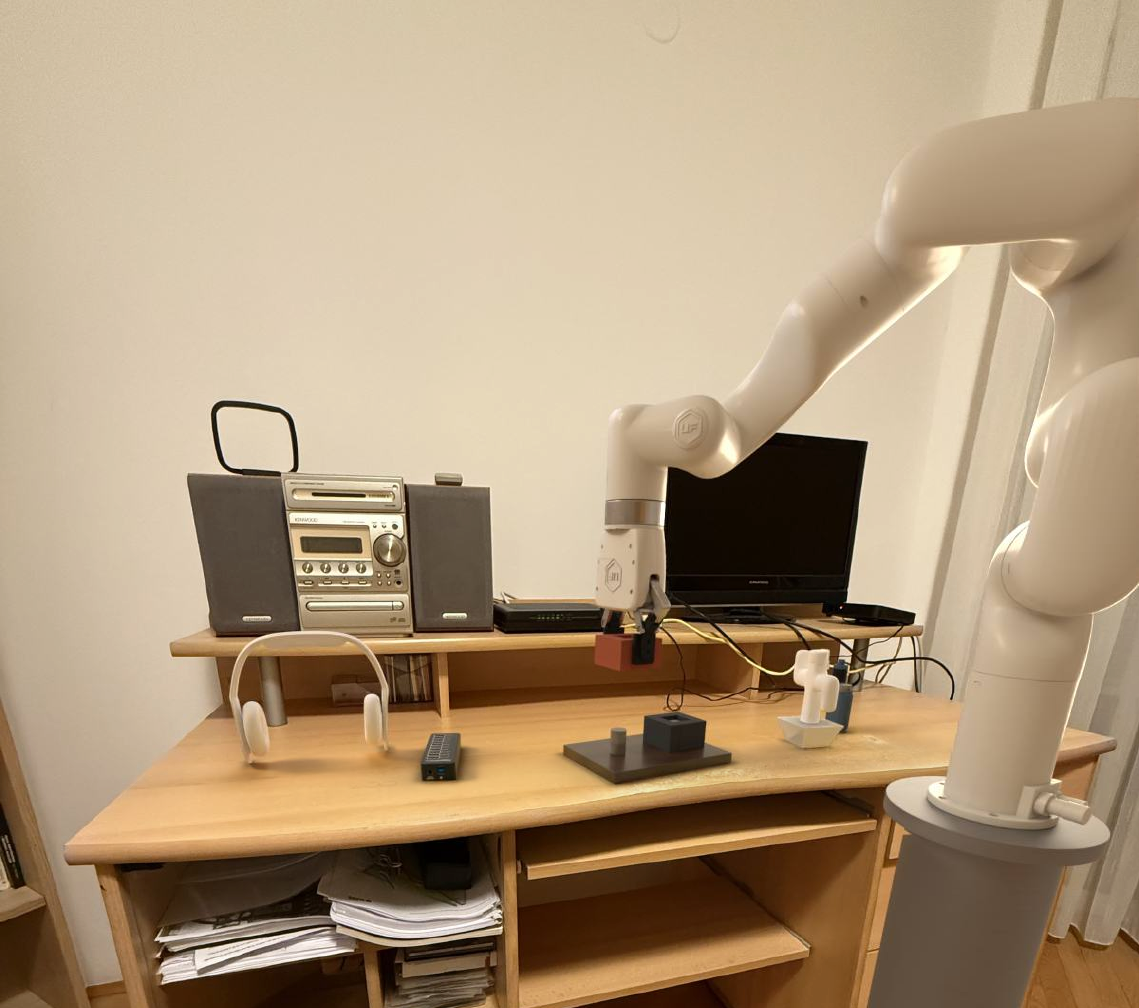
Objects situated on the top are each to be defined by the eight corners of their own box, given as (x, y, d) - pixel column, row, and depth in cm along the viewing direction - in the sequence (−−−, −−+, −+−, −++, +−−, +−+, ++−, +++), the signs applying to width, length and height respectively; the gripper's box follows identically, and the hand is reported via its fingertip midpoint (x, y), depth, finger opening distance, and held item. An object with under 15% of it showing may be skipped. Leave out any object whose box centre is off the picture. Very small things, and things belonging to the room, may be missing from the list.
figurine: (804, 753, 91) (819, 654, 87) (769, 736, 100) (781, 645, 95) (845, 750, 93) (861, 653, 88) (807, 734, 102) (820, 645, 97)
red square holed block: (660, 668, 81) (662, 638, 79) (620, 671, 78) (621, 640, 76) (633, 661, 86) (634, 632, 85) (594, 663, 83) (595, 634, 82)
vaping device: (834, 725, 108) (845, 658, 104) (849, 733, 103) (861, 663, 99) (821, 725, 108) (831, 658, 104) (835, 733, 103) (846, 663, 99)
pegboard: (731, 762, 86) (734, 729, 85) (614, 784, 77) (616, 747, 76) (670, 738, 98) (672, 708, 96) (563, 754, 89) (563, 721, 87)
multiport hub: (461, 747, 91) (460, 732, 91) (456, 779, 78) (455, 763, 77) (431, 747, 91) (430, 733, 90) (421, 780, 77) (420, 763, 76)
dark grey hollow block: (704, 747, 88) (706, 720, 87) (669, 753, 85) (671, 725, 84) (676, 736, 94) (678, 711, 92) (642, 741, 91) (644, 715, 89)
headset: (237, 774, 78) (214, 636, 73) (244, 758, 84) (223, 629, 79) (395, 760, 85) (385, 632, 79) (391, 746, 91) (381, 626, 86)
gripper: (575, 520, 81) (572, 652, 87) (650, 513, 67) (641, 672, 73) (621, 523, 85) (615, 650, 90) (702, 516, 70) (690, 668, 76)
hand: (627, 658), depth 81 cm, fingers closed on red square holed block, 6 cm apart
